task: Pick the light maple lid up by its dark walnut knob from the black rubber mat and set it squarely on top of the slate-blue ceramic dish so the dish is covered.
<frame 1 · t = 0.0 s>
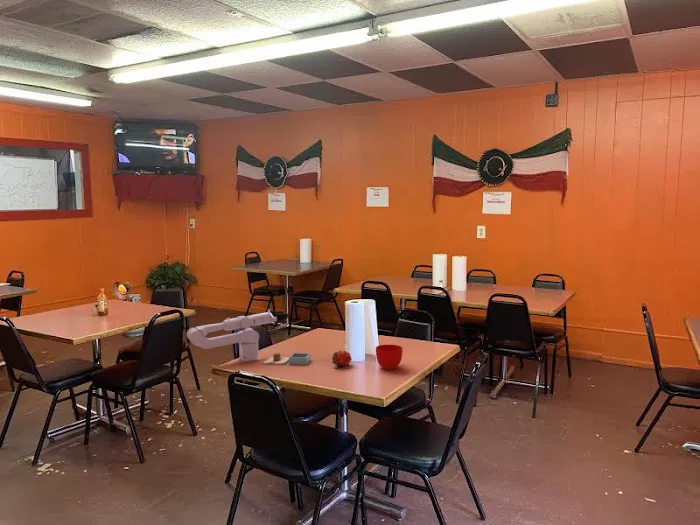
hand: (285, 314, 289), 22 cm above the table, tool horizontal, fingers open, 7 cm apart
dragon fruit: (342, 366, 268), on the table
ceramic cup: (390, 367, 265), on the table
lid: (277, 361, 275), resting on mat
dish: (300, 363, 274), on the table
mat: (277, 362, 275), on the table
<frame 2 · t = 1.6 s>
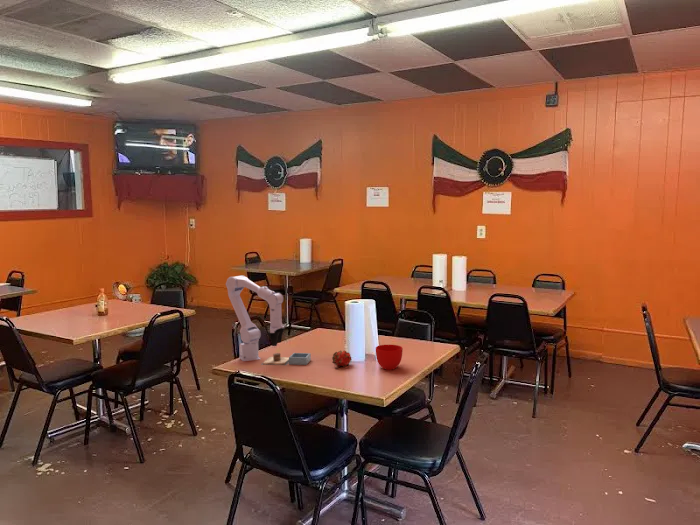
hand: (276, 344, 275), 9 cm above the table, tool pointing down, fingers open, 7 cm apart
nothing on the table moved.
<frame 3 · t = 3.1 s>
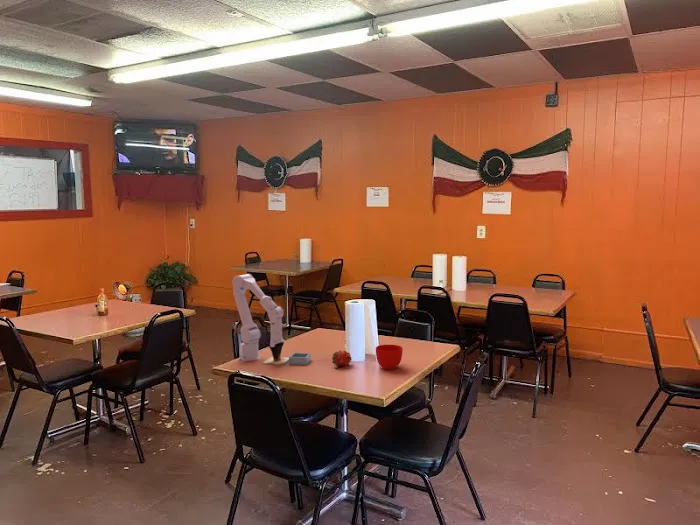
hand: (276, 357, 275), 2 cm above the table, tool pointing down, fingers closed on lid, 4 cm apart
lid: (277, 361, 275), resting on mat, touching gripper
everything else where it was.
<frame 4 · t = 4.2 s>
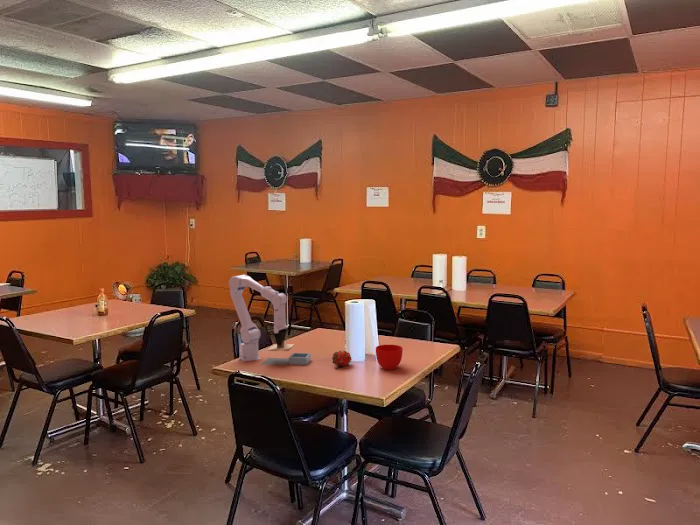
hand: (280, 344, 274), 9 cm above the table, tool pointing down, fingers closed on lid, 4 cm apart
lid: (280, 348, 274), point 7 cm above the table, touching gripper
everything else where it was.
when the fingers open (7 cm above the table, at t = 5.5 s): lid stays where it is, resting on dish.
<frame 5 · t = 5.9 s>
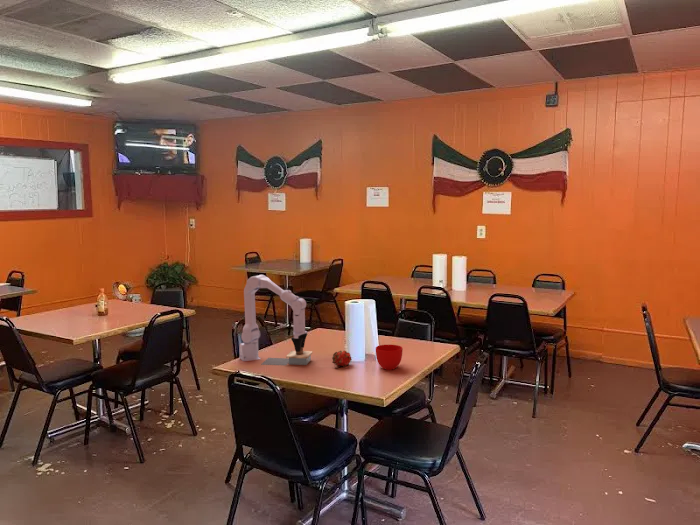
hand: (299, 349, 273), 7 cm above the table, tool pointing down, fingers open, 7 cm apart
lid: (299, 355, 273), point 4 cm above the table, touching dish
everything else where it was.
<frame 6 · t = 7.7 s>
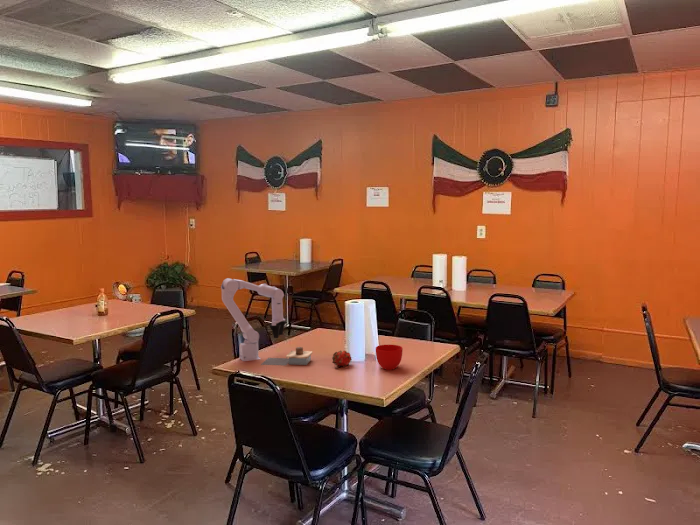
hand: (278, 336, 288), 10 cm above the table, tool pointing down, fingers open, 7 cm apart
nothing on the table moved.
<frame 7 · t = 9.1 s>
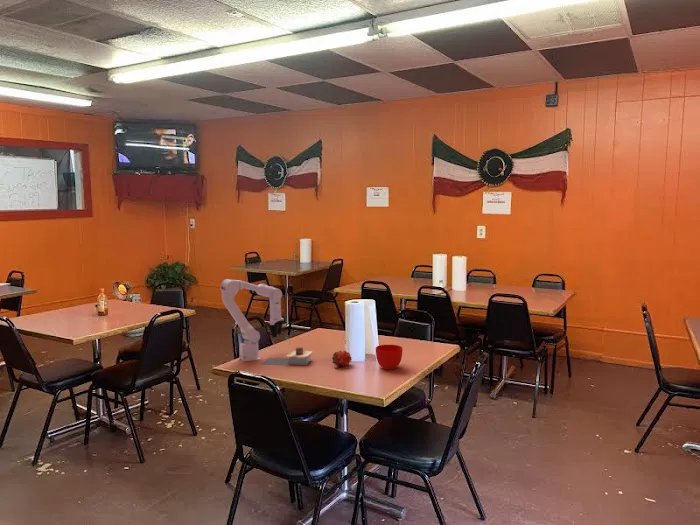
hand: (276, 335, 290), 10 cm above the table, tool pointing down, fingers open, 7 cm apart
nothing on the table moved.
at the end: lid 0.2 cm off-centre on the dish, point 4.0 cm above the dish's base; lid tilted 0°; the gripper is holding nothing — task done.
